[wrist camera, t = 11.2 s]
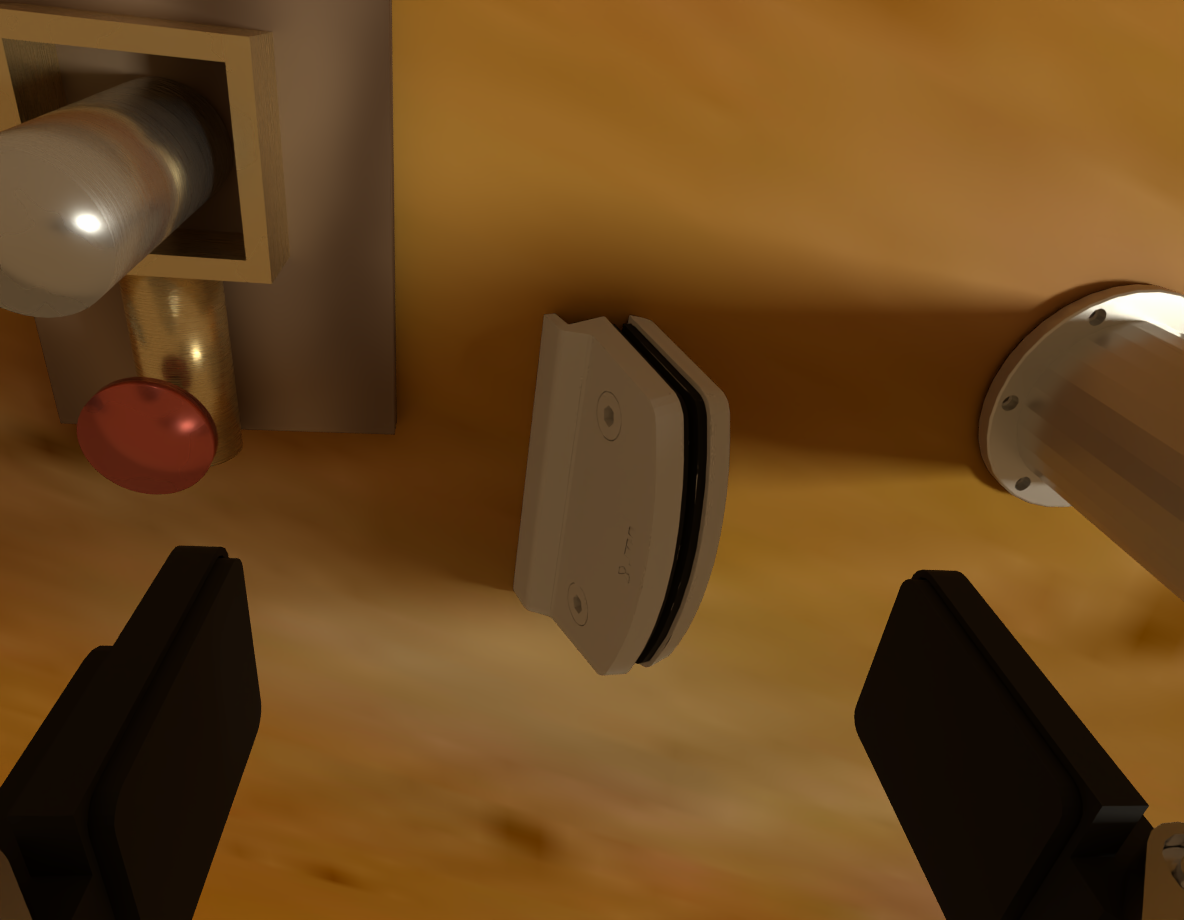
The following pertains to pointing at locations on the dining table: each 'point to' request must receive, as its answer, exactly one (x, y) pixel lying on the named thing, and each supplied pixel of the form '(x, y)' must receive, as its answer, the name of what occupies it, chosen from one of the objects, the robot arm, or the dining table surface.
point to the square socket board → (168, 248)
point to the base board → (314, 214)
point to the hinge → (621, 490)
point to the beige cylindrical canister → (102, 190)
